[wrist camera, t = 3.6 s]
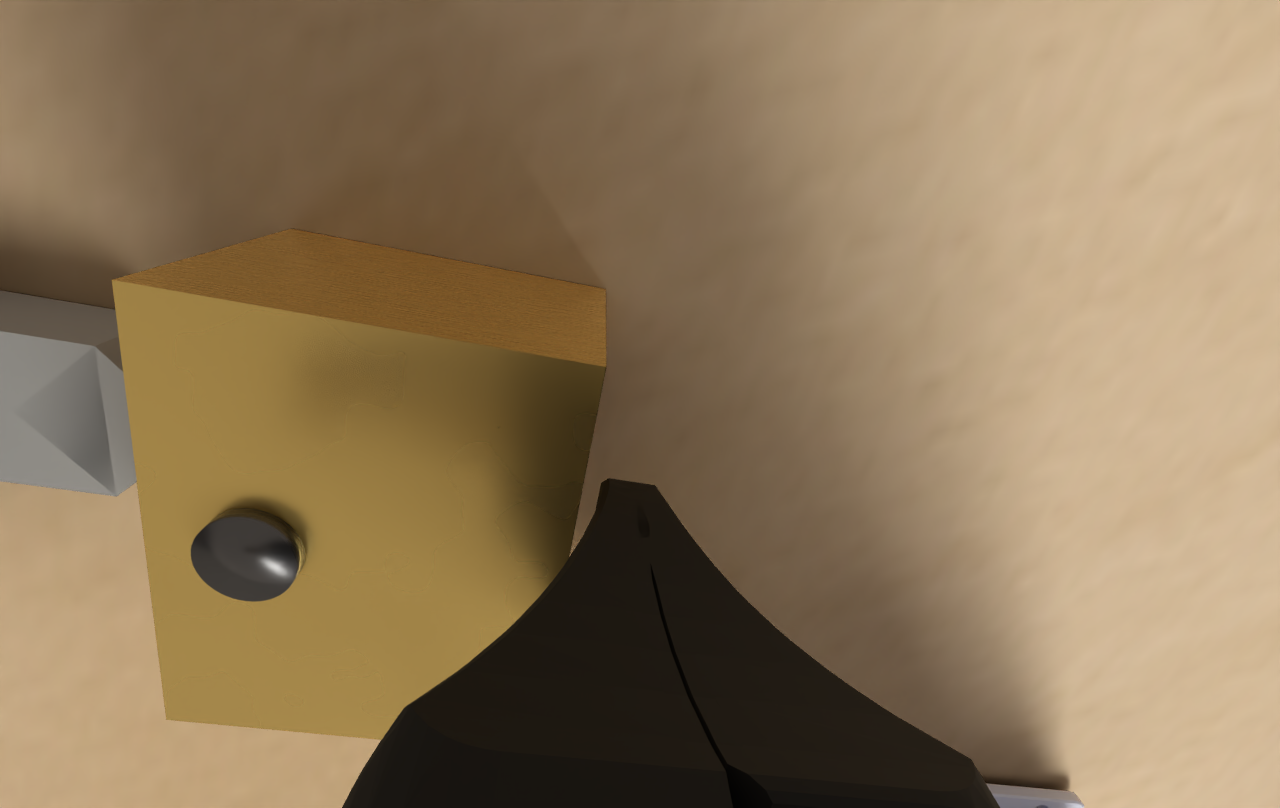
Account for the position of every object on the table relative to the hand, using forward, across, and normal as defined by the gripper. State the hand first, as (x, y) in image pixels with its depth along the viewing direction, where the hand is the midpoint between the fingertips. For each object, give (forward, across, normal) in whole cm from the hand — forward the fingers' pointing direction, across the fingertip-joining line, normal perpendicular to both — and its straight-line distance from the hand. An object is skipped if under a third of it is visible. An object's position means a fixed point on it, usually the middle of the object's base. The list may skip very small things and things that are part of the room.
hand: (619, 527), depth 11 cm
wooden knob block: (+3, +4, 0) cm, 5 cm away
